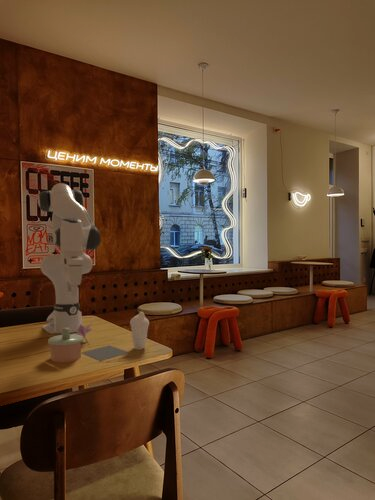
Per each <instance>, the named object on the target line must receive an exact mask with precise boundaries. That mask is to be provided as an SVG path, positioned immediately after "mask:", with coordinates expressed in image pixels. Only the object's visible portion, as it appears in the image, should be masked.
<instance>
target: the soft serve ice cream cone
mask: <svg viewBox="0 0 375 500" xmlns="http://www.w3.org/2000/svg"><path fill="white" fill-rule="evenodd" d="M129 325H130V329H131V338H132V342H133V343H132V344H133V347H134V349H135V350H143V348H144V349H145V347H146V342H147V338H148V330H149V325H150V321H149V319H148V318H147V317H146V315H145V313H144V312H143V311H139V313H138V314H136V315H135V316H133V317H132V318H130V320H129Z"/></svg>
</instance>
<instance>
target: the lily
mask: <svg viewBox="0 0 375 500" xmlns="http://www.w3.org/2000/svg"><path fill="white" fill-rule="evenodd" d="M92 324H93V323H90V324H88V325H87V326H86V327H85V325H84V324H83V323H82V324H81V325H80V326H79V328H78V330H77V332H75V334H77V335H81V336H83V339H84V340H85V341H86V343H87V345H89V342H88V340H87V339H86V335H87V334H88V333H89V332H91V331H92V330H93V329H92V328H90V327H91V325H92ZM83 325H84V326H83Z"/></svg>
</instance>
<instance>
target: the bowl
mask: <svg viewBox="0 0 375 500" xmlns="http://www.w3.org/2000/svg"><path fill="white" fill-rule="evenodd" d="M81 345H82V342H80V343H77V344H72V345H64V346H57V345H51V344H50V361H51V362H53V363H60V364H61V363H62V364H63V363H70V362H75V361H77V360H79V359H81V357H82V353H81V351H82V350H81V349H82V347H81Z"/></svg>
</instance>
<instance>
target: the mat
mask: <svg viewBox="0 0 375 500" xmlns="http://www.w3.org/2000/svg"><path fill="white" fill-rule="evenodd" d="M129 353H130V351H127V350H124V349H121V348H118V347H116V346H112V345H110V344H109V345H105V346H102V347H101V346H100V347H98V348H94V349H91V350H86V351H82V352H81V355H85V356H87V357H89V358H91V359H95V360H97V361H99V362H101V361H105V360H108V359H112V358H115V357H119V356H122V354H123V355H126V354H129Z"/></svg>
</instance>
